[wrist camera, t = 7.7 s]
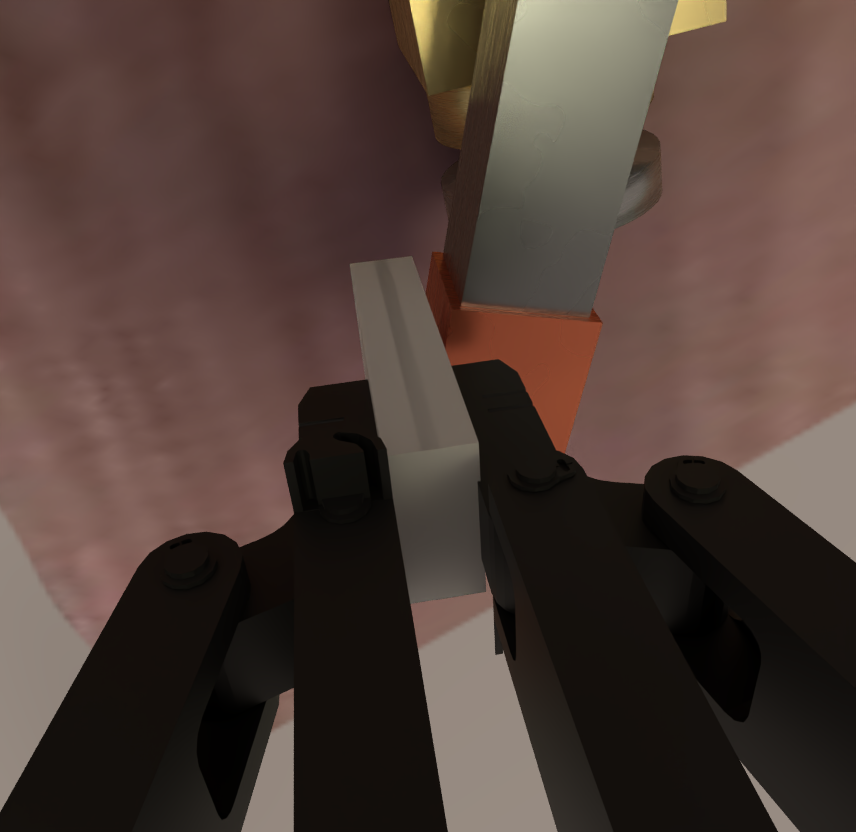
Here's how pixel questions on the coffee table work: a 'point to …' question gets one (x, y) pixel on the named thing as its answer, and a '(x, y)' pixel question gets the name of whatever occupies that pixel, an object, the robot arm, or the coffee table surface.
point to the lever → (544, 187)
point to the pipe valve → (454, 66)
